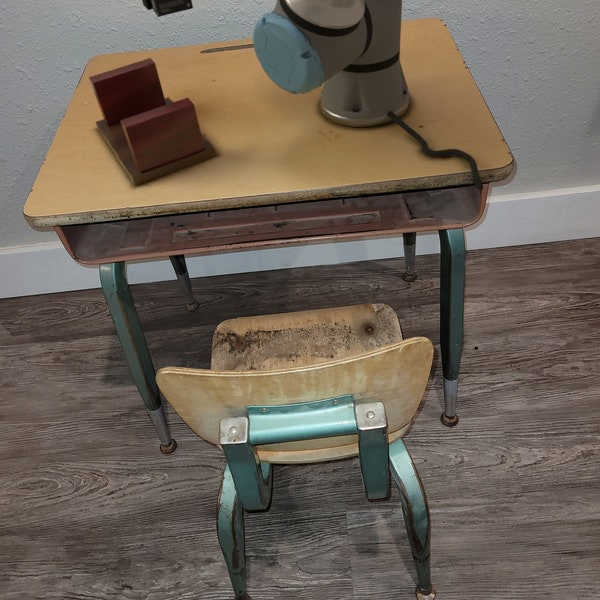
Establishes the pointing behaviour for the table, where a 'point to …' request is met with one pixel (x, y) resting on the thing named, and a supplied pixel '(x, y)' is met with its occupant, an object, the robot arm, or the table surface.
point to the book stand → (147, 123)
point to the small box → (170, 6)
